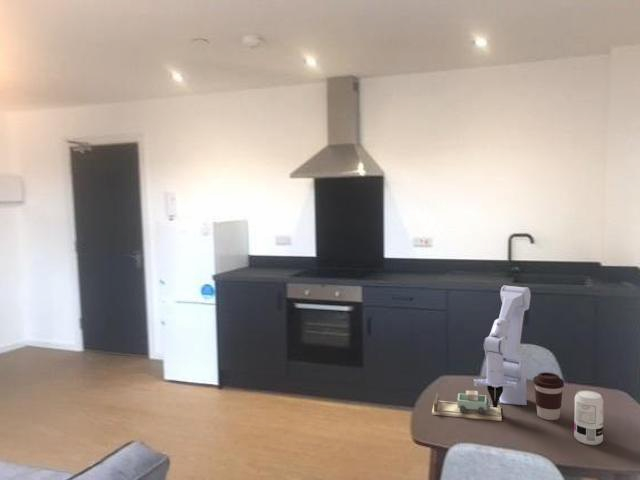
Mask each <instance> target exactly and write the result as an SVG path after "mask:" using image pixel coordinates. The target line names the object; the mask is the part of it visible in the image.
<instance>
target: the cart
mask: <svg viewBox="0 0 640 480" xmlns="http://www.w3.org/2000/svg"><path fill="white" fill-rule="evenodd" d="M490 399H491V397H490V398H488V397H487V395H486V394H485V395H484V394H478V402H477V401H466V393H461V392H460V393H459V392H458V394H457V402H458V408H460V411H461V412H465V410H466V409H476V410H478V412H479V413H480V414H483V413H484V410H487V411H490V405H491V400H490Z"/></svg>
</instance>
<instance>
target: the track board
mask: <svg viewBox="0 0 640 480" xmlns="http://www.w3.org/2000/svg"><path fill="white" fill-rule="evenodd" d="M439 399H440V394H439V393H438V392H436V393H435V397H434V400H433V404H432V405H433V406H432V410H431V415H432V416H433V415H434V416H442V417H443V416H446V417H453V418H454V417H456V418H466V419H475V420H487V421H488V420H490V421H499V422H502V410H501V405H497V407H493V404H490V411H487V410H484V413H483V414H480V413H479V412H478V410H476V409H466V410H465V412H461V411H460V408H458V401H448V400H447V401H445V400H439Z"/></svg>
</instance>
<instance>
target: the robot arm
mask: <svg viewBox="0 0 640 480" xmlns="http://www.w3.org/2000/svg"><path fill="white" fill-rule="evenodd" d="M500 299H501V303H502V304H501V307H500V308H501V309H500V313H499V317H498V318H496V319H495V320H494V321H493V324H492V327H491V329H490V330H491V331H490V332H489V335H488V336H486V337H485V338H484V341H483V350H484V355H485V357H486V378H480V379H477V378H476V379H475V378H474V379H473V386H474V387H478V386H479V387H487V392H488V393H489V397H490V399H491V402H492V405H493V407H497V406H499V405H498V404H499V403H500V404H505V405H515V406H516V405H517V406H527V399H528V393H527V380H526V378H525V375H526V371H527V370H526V369H527V368H526V359H525V358H524V357H523V356H522V355H521V354H520V346H521V339H522V333H523V332H522V331H523V323H524V315H525V311H528V310H529V309H530V305H531V304H530V303H531V290H530V288H529V287H527V286H525V287H524V286H523V287H522V286H515V285H513V286H512V285H505V284H504V285H502V287H501V289H500Z"/></svg>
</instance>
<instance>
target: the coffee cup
mask: <svg viewBox="0 0 640 480" xmlns="http://www.w3.org/2000/svg"><path fill="white" fill-rule="evenodd" d="M532 379H533V380H532V382H533V384H534V386H535V388H534V396H535V405H536V412H537V413H536V414H537V416H538V417H539V418H540V419H543V420H545V421H546V420H547V421H556V420H559V419H560V415H561V407H562V399H563V398H562V397H563V390H562V389H563V388H564V387H565V380H564V379H562V378H561V377H560V376H559V375H558V374H556V373H553V372H539V373H538V374H537V375H535V376H534V377H533V378H532Z"/></svg>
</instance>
